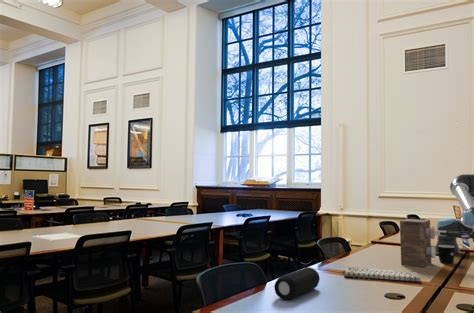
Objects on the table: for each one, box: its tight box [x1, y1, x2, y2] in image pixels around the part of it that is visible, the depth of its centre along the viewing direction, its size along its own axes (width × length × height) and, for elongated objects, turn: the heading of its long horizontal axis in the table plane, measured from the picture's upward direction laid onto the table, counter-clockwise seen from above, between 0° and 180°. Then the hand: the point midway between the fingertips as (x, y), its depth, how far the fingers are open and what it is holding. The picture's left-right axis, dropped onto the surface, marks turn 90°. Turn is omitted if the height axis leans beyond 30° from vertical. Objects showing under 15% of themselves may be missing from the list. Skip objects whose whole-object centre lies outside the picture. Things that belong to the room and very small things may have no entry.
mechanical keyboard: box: [342, 266, 422, 284], centre depth 202 cm, size 38×19×3 cm, turn 73°
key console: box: [399, 218, 432, 269], centre depth 233 cm, size 16×13×26 cm
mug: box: [437, 245, 455, 265], centre depth 236 cm, size 12×9×10 cm
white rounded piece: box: [426, 244, 437, 259], centre depth 230 cm, size 7×12×7 cm, turn 51°
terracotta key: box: [426, 225, 436, 240], centre depth 231 cm, size 7×12×7 cm, turn 51°
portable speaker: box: [273, 267, 321, 301], centre depth 173 cm, size 26×10×10 cm, turn 141°
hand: (434, 232), depth 227 cm, fingers closed
